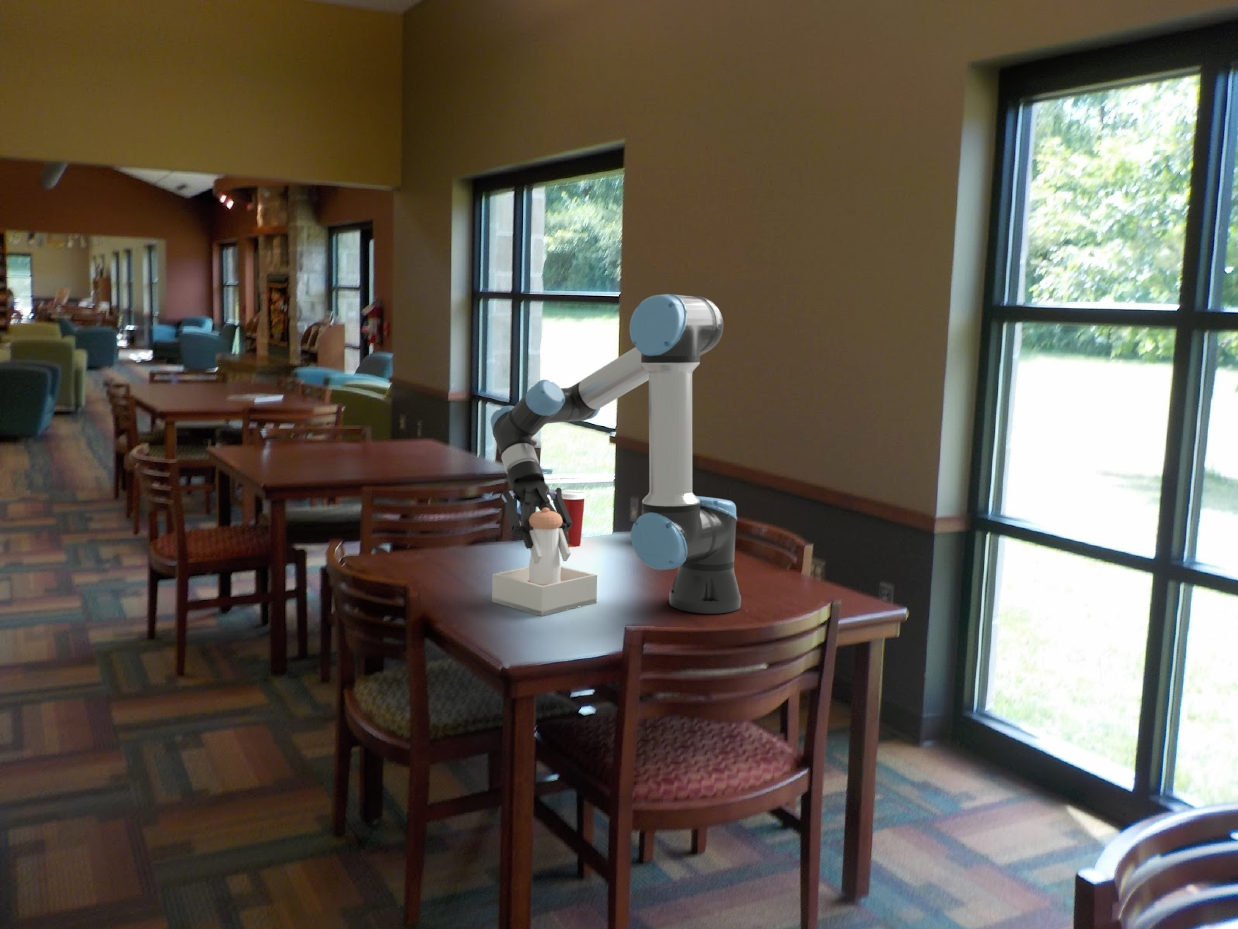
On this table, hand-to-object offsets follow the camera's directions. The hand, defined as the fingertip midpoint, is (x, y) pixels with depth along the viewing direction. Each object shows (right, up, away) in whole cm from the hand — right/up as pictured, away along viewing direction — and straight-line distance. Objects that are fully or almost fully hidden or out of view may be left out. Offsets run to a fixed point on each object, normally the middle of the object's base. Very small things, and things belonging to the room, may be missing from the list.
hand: (552, 558), depth 234 cm
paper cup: (+1, -2, +64) cm, 64 cm away
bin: (-2, -10, +5) cm, 11 cm away
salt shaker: (-2, -9, +4) cm, 10 cm away
